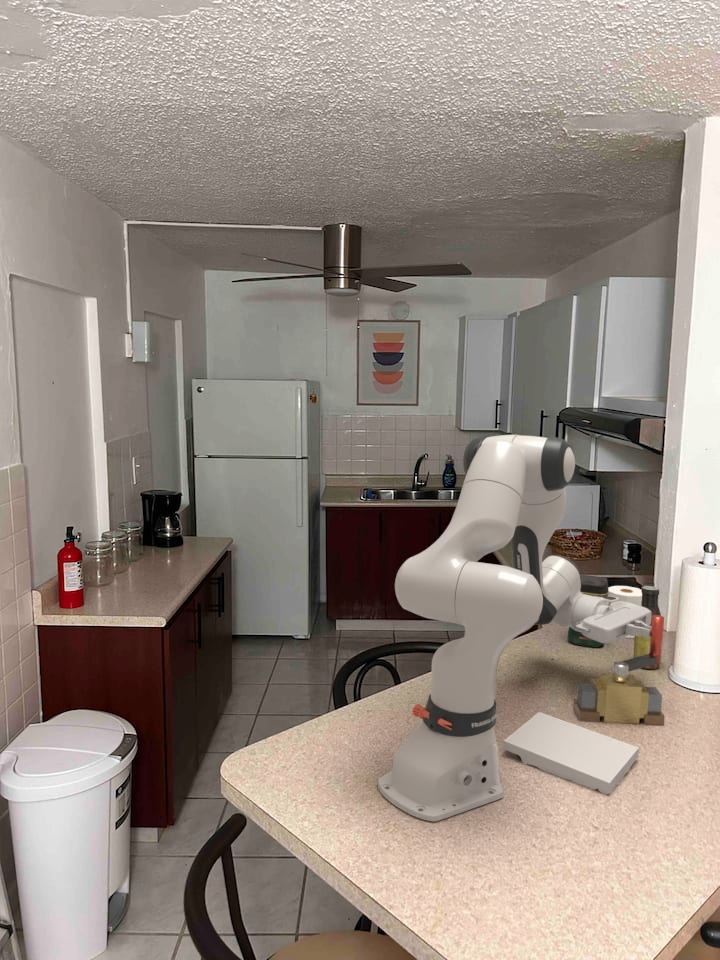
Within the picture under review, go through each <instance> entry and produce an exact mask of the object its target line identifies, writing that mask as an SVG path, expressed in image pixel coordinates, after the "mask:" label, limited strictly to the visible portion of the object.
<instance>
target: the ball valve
mask: <svg viewBox="0 0 720 960" xmlns="http://www.w3.org/2000/svg"><path fill="white" fill-rule="evenodd" d="M662 697H663V695H662V694H661V693H660V691H659V690H658V689H657V687H656V686H644V684H643V683H642V682H641V681H639V680H637V678H636V677H635V676H634V675H633V674H628V681H626V682H619V681H616V680H614V679H613V673H598V678H597V679H596V678H591V682H590V683H578V684H577V698H573V705H572V706H573V707H572V708H573V710H574V713H575V715H576V717H577V719H578V720H579V722H590V723H591V722H594V723H595V722H597V723H599V722H600V719H601V720H602V721H603V723H608V724H609V723H613V724H614V723H615V724H629V725H630V724H631V725H632V724H633V725H639V724H640V720H641V722H642V723H643V725H648V726H649V725H650V726H651V725H652V726H665V718H666V717H665V715H664V713H663V712H662V699H663V698H662Z"/></svg>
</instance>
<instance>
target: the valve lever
mask: <svg viewBox="0 0 720 960" xmlns="http://www.w3.org/2000/svg"><path fill="white" fill-rule="evenodd" d="M664 625H665V616H662V615H661V616H660V615H653V616H652V625H651V638H650V651H649V654H646V655H643V656H639V657H636V658H634V657H632V658H630V659H626V660H622V661H621V660H620V661H614V662H613V665H612V674H613V679H614V680H616V681H619V682H626V681H628V675H629V672H632V671H637V670H640V669H644V668H643V667H647V666H650V665H653V664H657V663H659V664H661V662H662V652H663V651H662V650H663V639H664V638H663V637H664Z"/></svg>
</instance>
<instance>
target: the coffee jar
mask: <svg viewBox="0 0 720 960" xmlns="http://www.w3.org/2000/svg"><path fill="white" fill-rule="evenodd" d="M580 578H581V589H580V591H581V593H582V594H586V595H590V596H597V597H608V594H609V590H608V587H609V581H608V578H607V577H603V576H602V577H601V576H595V575H587V574H580ZM567 630H568V632H567V640H568V642H570V643H571V644H575V645H578V646H584V647H590V648H591V647H592V648H599V647H601V646H602V647H603V646H604V643H600V642H598V641H595V640H592V639H590V638H588V637H585V636H584V635H583V634H582V632H579V631H576V630H574V629H573V628H571V627H568V629H567Z"/></svg>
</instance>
